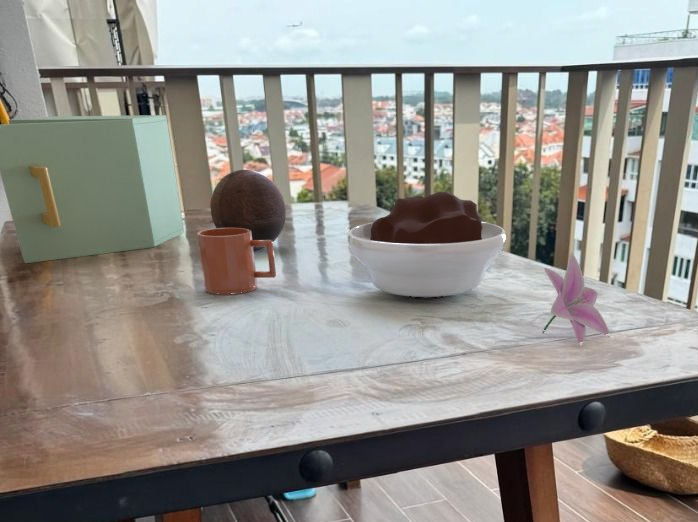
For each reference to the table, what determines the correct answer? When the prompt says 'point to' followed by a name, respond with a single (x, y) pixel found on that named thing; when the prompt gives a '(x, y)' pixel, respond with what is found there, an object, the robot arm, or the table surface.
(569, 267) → the lily
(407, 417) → the table surface
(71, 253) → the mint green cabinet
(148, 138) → the cupboard
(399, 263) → the filled white bowl
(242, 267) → the mug
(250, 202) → the wooden sphere
